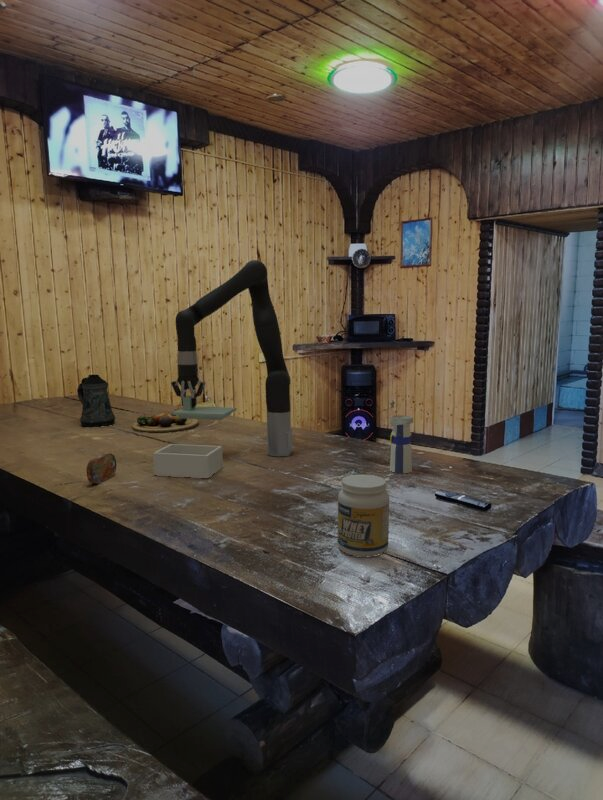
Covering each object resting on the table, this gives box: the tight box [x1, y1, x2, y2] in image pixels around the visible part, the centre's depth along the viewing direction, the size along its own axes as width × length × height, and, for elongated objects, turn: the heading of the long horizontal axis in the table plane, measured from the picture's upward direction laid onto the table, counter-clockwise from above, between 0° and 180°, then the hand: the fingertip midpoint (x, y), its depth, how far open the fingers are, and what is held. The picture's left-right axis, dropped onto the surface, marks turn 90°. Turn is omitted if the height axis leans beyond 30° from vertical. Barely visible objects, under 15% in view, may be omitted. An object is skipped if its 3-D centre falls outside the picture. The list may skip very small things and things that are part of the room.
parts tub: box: [152, 443, 224, 479], centre depth 203 cm, size 20×14×8 cm
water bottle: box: [389, 399, 414, 474], centre depth 200 cm, size 8×9×25 cm
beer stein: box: [76, 374, 116, 428], centre depth 286 cm, size 16×19×25 cm
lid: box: [171, 395, 237, 421], centre depth 221 cm, size 20×14×8 cm
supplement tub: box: [336, 473, 390, 558], centre depth 136 cm, size 12×12×17 cm
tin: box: [85, 452, 117, 485], centre depth 194 cm, size 15×3×8 cm, turn 168°
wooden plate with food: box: [131, 407, 200, 434], centre depth 282 cm, size 32×32×8 cm
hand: (189, 407), depth 222 cm, fingers closed on lid, 3 cm apart
